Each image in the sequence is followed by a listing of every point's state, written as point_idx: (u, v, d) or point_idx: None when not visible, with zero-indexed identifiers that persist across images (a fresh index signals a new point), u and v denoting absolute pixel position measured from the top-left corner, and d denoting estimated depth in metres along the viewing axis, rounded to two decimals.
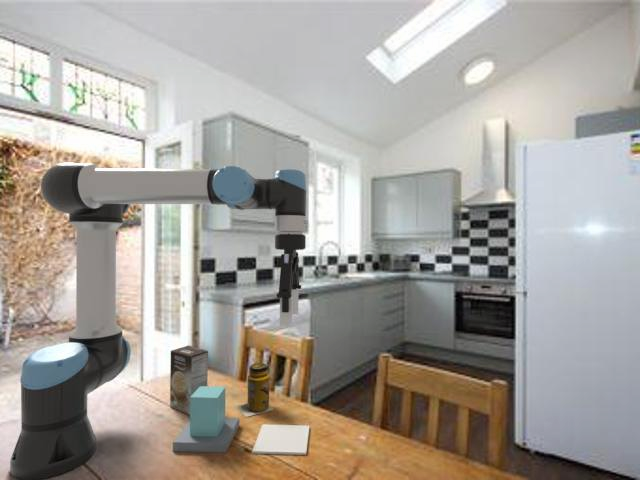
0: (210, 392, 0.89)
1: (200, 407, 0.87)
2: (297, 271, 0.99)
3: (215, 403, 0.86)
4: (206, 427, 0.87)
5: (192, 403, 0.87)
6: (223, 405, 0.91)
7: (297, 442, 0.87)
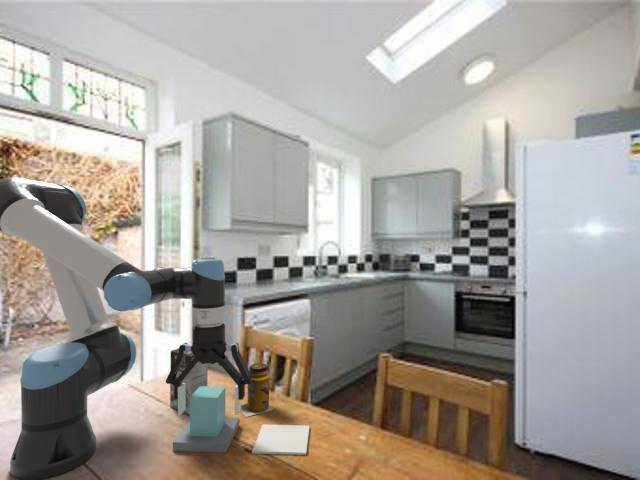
0: (210, 392, 0.89)
1: (200, 407, 0.87)
2: (237, 366, 0.88)
3: (215, 403, 0.86)
4: (206, 427, 0.87)
5: (192, 403, 0.87)
6: (223, 405, 0.91)
7: (297, 442, 0.87)
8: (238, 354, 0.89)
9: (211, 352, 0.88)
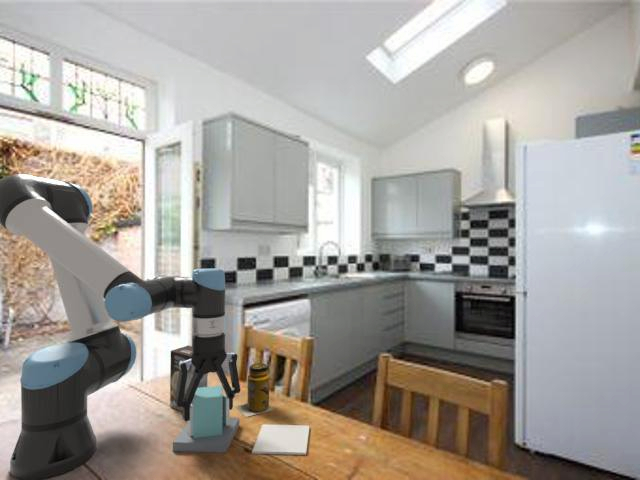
0: (210, 392, 0.89)
1: (204, 408, 0.86)
2: (233, 375, 0.92)
3: (220, 402, 0.87)
4: (211, 427, 0.87)
5: (195, 405, 0.86)
6: None
7: (297, 442, 0.87)
8: None
9: (216, 360, 0.89)
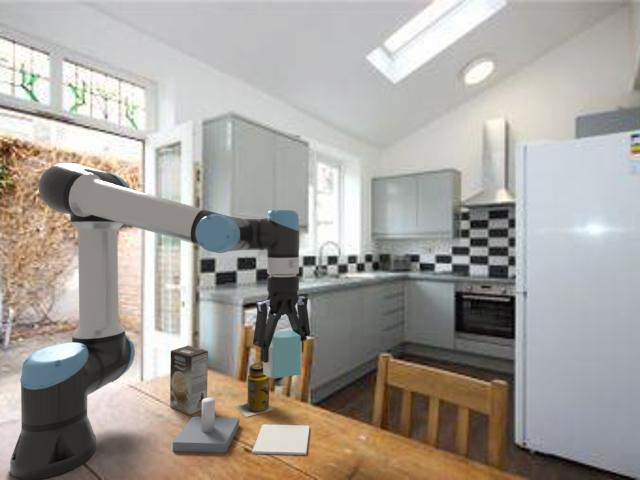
0: (286, 334, 0.89)
1: (284, 347, 0.86)
2: (304, 318, 0.92)
3: (298, 341, 0.87)
4: (290, 367, 0.86)
5: (276, 345, 0.85)
6: None
7: (297, 442, 0.87)
8: None
9: (292, 302, 0.88)
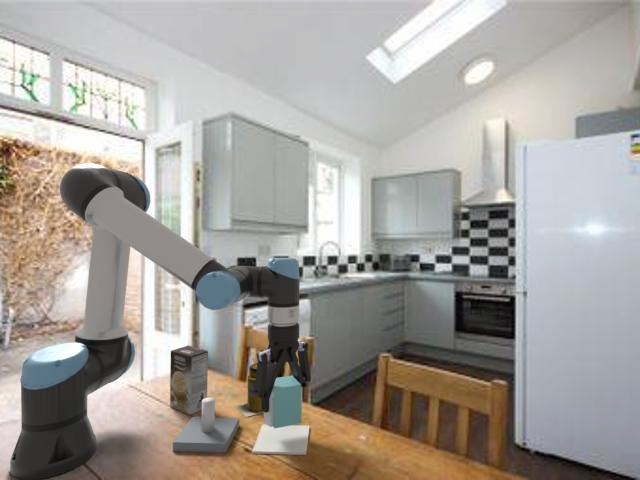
0: (286, 382, 0.89)
1: (284, 397, 0.86)
2: (304, 364, 0.92)
3: (299, 390, 0.87)
4: (290, 416, 0.86)
5: (276, 395, 0.85)
6: None
7: (297, 442, 0.87)
8: None
9: (292, 349, 0.88)
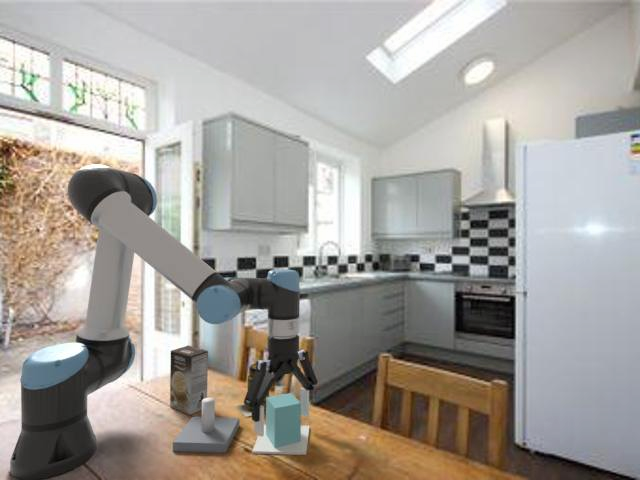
0: (286, 400, 0.89)
1: (284, 416, 0.86)
2: (308, 370, 0.93)
3: (299, 409, 0.87)
4: (290, 435, 0.86)
5: (276, 414, 0.85)
6: None
7: (297, 442, 0.87)
8: None
9: (292, 362, 0.88)
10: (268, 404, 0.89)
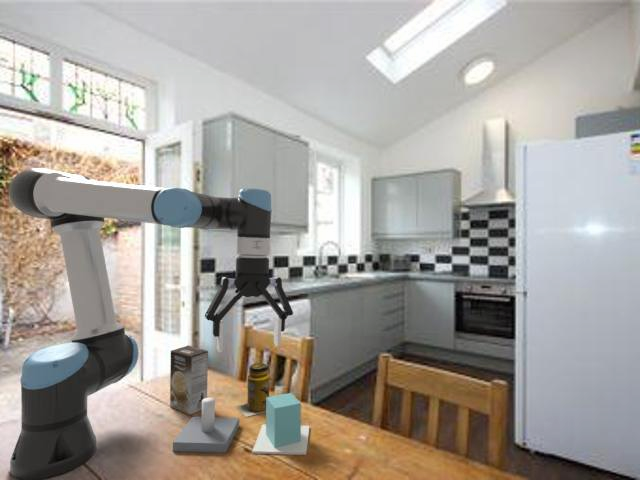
0: (286, 400, 0.89)
1: (284, 416, 0.86)
2: (281, 298, 0.89)
3: (299, 409, 0.87)
4: (290, 435, 0.86)
5: (276, 414, 0.85)
6: None
7: (297, 442, 0.87)
8: None
9: (259, 284, 0.85)
10: (268, 404, 0.89)
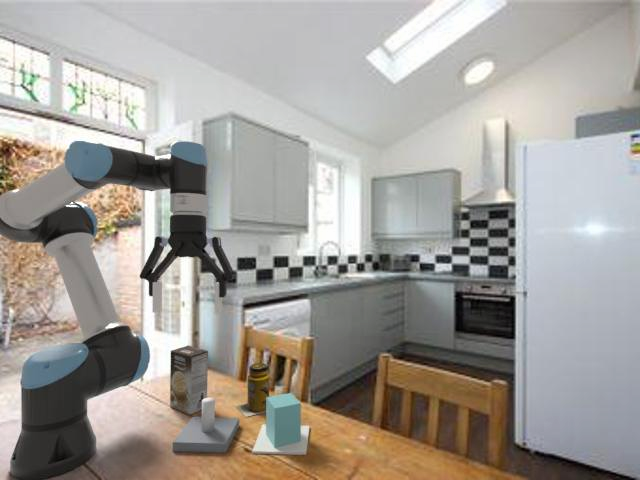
0: (286, 400, 0.89)
1: (284, 416, 0.86)
2: (219, 260, 0.80)
3: (299, 409, 0.87)
4: (290, 435, 0.86)
5: (276, 414, 0.85)
6: None
7: (297, 442, 0.87)
8: (220, 248, 0.81)
9: (190, 243, 0.80)
10: (268, 404, 0.89)
